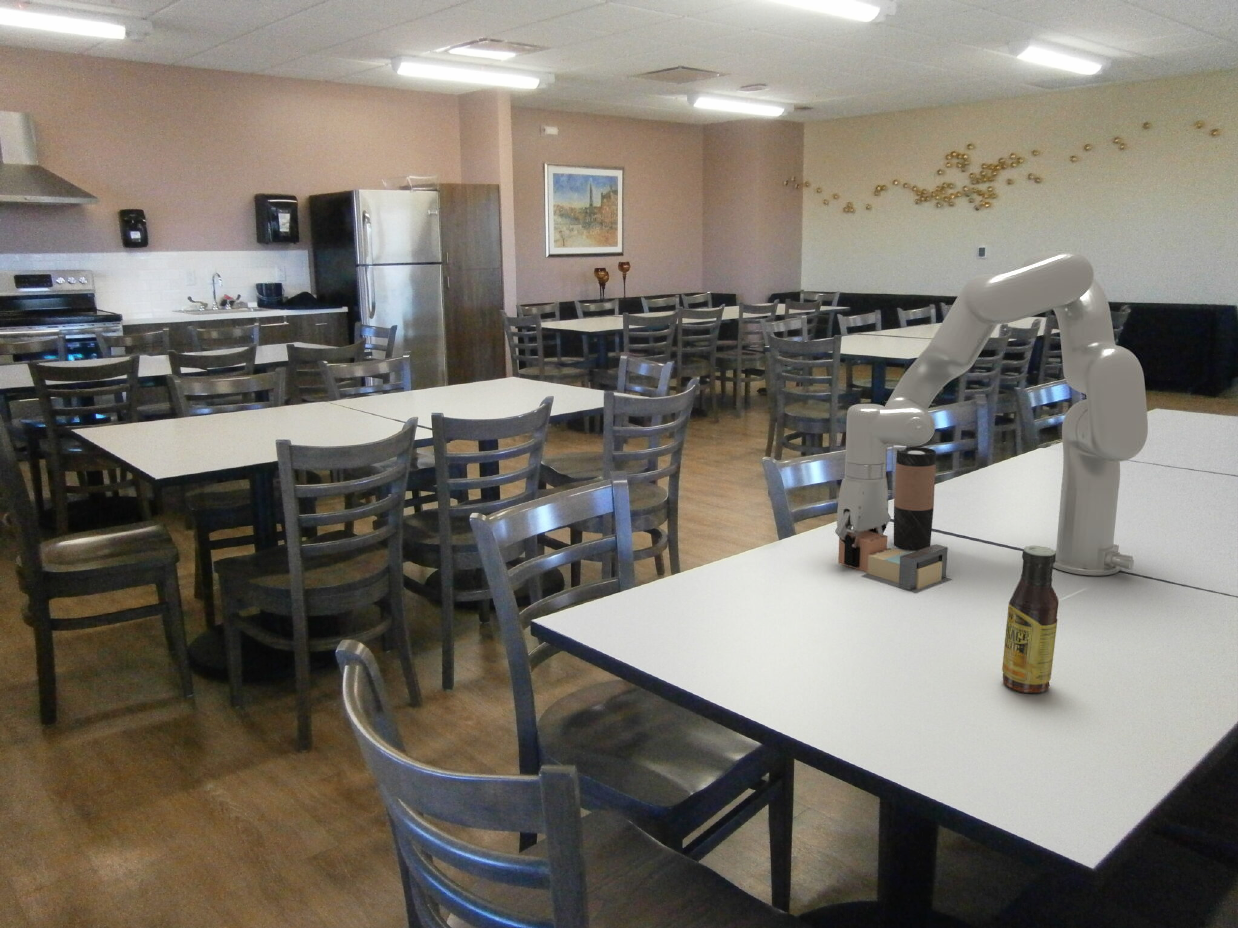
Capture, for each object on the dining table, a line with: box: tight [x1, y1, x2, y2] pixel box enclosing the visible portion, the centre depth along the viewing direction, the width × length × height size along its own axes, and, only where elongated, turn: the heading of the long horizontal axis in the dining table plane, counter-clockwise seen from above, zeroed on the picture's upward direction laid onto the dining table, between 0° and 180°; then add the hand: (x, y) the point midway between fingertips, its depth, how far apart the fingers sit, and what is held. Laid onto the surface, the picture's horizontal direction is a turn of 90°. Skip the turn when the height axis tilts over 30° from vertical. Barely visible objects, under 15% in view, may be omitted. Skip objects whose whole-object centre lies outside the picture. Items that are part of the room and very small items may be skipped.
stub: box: [838, 530, 889, 573], centre depth 180 cm, size 7×6×6 cm
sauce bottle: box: [1001, 545, 1059, 694], centre depth 128 cm, size 6×6×20 cm
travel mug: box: [893, 446, 937, 552], centre depth 189 cm, size 8×8×20 cm
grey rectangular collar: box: [898, 544, 949, 592], centre depth 170 cm, size 2×11×6 cm, turn 128°
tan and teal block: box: [867, 547, 942, 589], centre depth 173 cm, size 11×7×4 cm, turn 37°
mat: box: [861, 572, 953, 594], centre depth 173 cm, size 12×11×1 cm
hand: (862, 561), depth 180 cm, fingers closed on stub, 5 cm apart
